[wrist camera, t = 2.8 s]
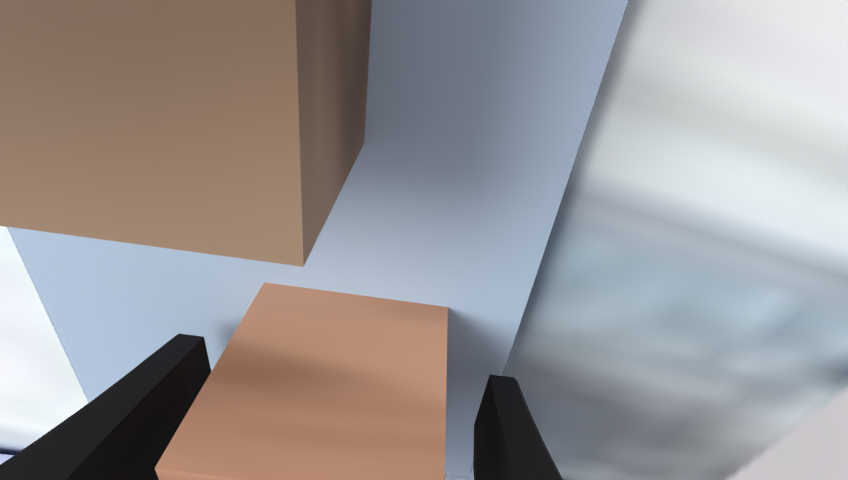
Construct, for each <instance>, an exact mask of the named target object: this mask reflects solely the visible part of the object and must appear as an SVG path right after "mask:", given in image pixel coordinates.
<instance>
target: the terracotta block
mask: <svg viewBox="0 0 848 480" xmlns="http://www.w3.org/2000/svg"><path fill="white" fill-rule="evenodd" d="M447 325H448V307H444V306H437V305H429V304H422V303H414V302H407V301H400V300H392V299H385V298H377V297H370V296H362V295H355V294H348V293H340V292H333V291H325V290H318V289H311V288H303V287H296V286H288V285H281V284H273V283H266V282H264V283H263V285H262V287H261V288H260V290H259V292H258V293H257V295H256V297H255V298H254V300H253V302H252V304H251V305H250V307H249V309H248V310H247V312H246V314H245V315H244V317H243V319H242V321H241V322H240V324H239V326H238V327H237V329H236V331H235V332H234V334H233V336H232V337H231V339H230V341H229V343H228V344H227V346H226V348H225V349H224V351H223V353H222V354H221V356H220V358H219V360H218V361H217V363H216V365H215V366H214V368H213V370H212V371H211V373H210V375H209V377H208V378H207V380H206V382H205V383H204V385H203V387H202V388H201V390H200V392H199V394H198V395H197V397H196V399H195V400H194V402H193V404H192V405H191V407H190V409H189V411H188V412H187V414H186V416H185V417H184V419H183V421H182V422H181V424H180V426H179V428H178V429H177V431H176V433H175V434H174V436H173V438H172V439H171V441H170V443H169V445H168V446H167V448H166V450H165V451H164V453H163V455H162V456H161V458H160V460H159V462H158V463H157V465H156V467H155V471H156V473H157V476H158V478H159V480H445V433H446V379H447Z"/></svg>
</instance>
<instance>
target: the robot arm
mask: <svg viewBox="0 0 848 480" xmlns="http://www.w3.org/2000/svg"><path fill="white" fill-rule="evenodd" d="M210 373H211V368H210V363H209V358H208V354H207V349H206V344H205V339H204V337H202V336H195V335H187V334H180V333H179V334H177V335H176V336H175V337H173V338H172V339H171V340H169V341H168V342H167V343H166V344H164V345H163V346H162V347H160V348H159V349H158V350H157V351H155V352H154V353H153V354H152V355H150V356H149V357H148V358H147V359H145V360H144V361H143V362H141V363H140V364H139V365H138V366H136V367H135V368H134V369H133V370H131V371H130V372H129V373H127V374H126V375H125V376H124V377H122V378H121V379H120V380H118V381H117V382H116V383H115V384H113V385H112V386H111V387H109V388H108V389H107V390H105V391H104V392H103V393H101V394H100V395H99V396H97V397H96V398H95V399H93V400H92V401H91V402H89V403H88V404H87V405H85V406H84V407H83V408H81V409H80V410H79V411H77V412H76V413H75V414H73V415H72V416H70V417H69V418H67V419H66V420H65V421H63V422H62V423H60V424H59V425H58V426H56V427H55V428H53V429H52V430H51V431H49V432H48V433H46V434H45V435H43V436H42V437H41V438H39V439H38V440H36V441H35V442H33V443H32V444H30V445H29V446H28V447H26V448H25V449H23V450H22V451H20V452H19V453H17V454H16V455H7V454H0V480H159V478H158V476H157V473H156V471H155V467H156V465H157V463H158V462H159V460H160V458H161V456H162V455H163V453H164V451H165V450H166V448H167V446H168V445H169V443H170V441H171V439H172V438H173V436H174V434H175V433H176V431H177V429H178V428H179V426H180V424H181V422H182V421H183V419H184V417H185V416H186V414H187V412H188V411H189V409H190V407H191V405H192V404H193V402H194V400H195V399H196V397H197V395H198V394H199V392H200V390H201V388H202V387H203V385H204V383H205V382H206V380H207V378H208V377H209V375H210ZM473 468H474V480H563V479H562V477H561V475H560V473H559V471H558V469H557V467H556V466H555V464H554V462H553V460H552V458H551V456H550V454H549V452H548V450H547V448H546V446H545V444H544V442H543V440H542V437H541V435H540V433H539V431H538V429H537V427H536V424H535V422H534V420H533V418H532V416H531V413H530V411H529V409H528V406H527V404H526V402H525V399H524V397H523V394H522V392H521V389H520V387H519V384H518V382H517V380H516V379H515V378H513V377H505V376H498V375H489V378H488V381H487V385H486V388H485V391H484V394H483V397H482V401H481V404H480V407H479V410H478V414H477V417H476V420H475V423H474V462H473Z"/></svg>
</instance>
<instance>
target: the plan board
mask: <svg viewBox="0 0 848 480" xmlns="http://www.w3.org/2000/svg"><path fill="white" fill-rule="evenodd" d="M628 1H629V0H372V9H371V27H370V46H369V65H368V84H367V103H366V121H365V140H364V144H363V146H362V149H361V151H360V153H359V155H358V157H357V159H356V161H355V163H354V165H353V167H352V169H351V171H350V173H349V175H348V177H347V179H346V181H345V183H344V185H343V187H342V189H341V191H340V193H339V195H338V198H337V200H336V202H335V204H334V206H333V208H332V210H331V212H330V214H329V216H328V218H327V220H326V222H325V224H324V226H323V228H322V230H321V232H320V234H319V236H318V238H317V240H316V242H315V245H314V247H313V249H312V251H311V253H310V255H309V257H308V259H307V261H306V263H305V265H304V267H301V266H293V265H286V264H279V263H271V262H264V261H257V260H249V259H242V258H235V257H227V256H220V255H212V254H205V253H198V252H190V251H183V250H176V249H168V248H161V247H153V246H146V245H139V244H131V243H124V242H117V241H109V240H102V239H94V238H87V237H80V236H72V235H65V234H58V233H50V232H43V231H36V230H28V229H21V228H13V227H7V228H8V230H9V233H10V235H11V237H12V239H13V241H14V243H15V245H16V248H17V250H18V252H19V254H20V256H21V258H22V261H23V263H24V265H25V267H26V269H27V271H28V273H29V276H30V278H31V280H32V282H33V284H34V286H35V288H36V291H37V293H38V295H39V297H40V299H41V301H42V303H43V306H44V308H45V310H46V312H47V314H48V316H49V319H50V321H51V323H52V325H53V327H54V329H55V331H56V334H57V336H58V338H59V340H60V342H61V344H62V346H63V349H64V351H65V353H66V355H67V357H68V359H69V362H70V364H71V366H72V368H73V370H74V372H75V374H76V377H77V379H78V381H79V383H80V385H81V387H82V389H83V392H84V394H85V396H86V398H87V400H88V402H91V401H92V400H93V399H95V398H96V397H97V396H99V395H100V394H101V393H103V392H104V391H105V390H107V389H108V388H109V387H111V386H112V385H113V384H115V383H116V382H117V381H118V380H120V379H121V378H122V377H124V376H125V375H126V374H127V373H129V372H130V371H131V370H133V369H134V368H135V367H136V366H138V365H139V364H140V363H141V362H143V361H144V360H145V359H147V358H148V357H149V356H150V355H152V354H153V353H154V352H155V351H157V350H158V349H159V348H160V347H162V346H163V345H164V344H166V343H167V342H168V341H169V340H171V339H172V338H173V337H175V336H176V335H177V334H179V333H180V334H187V335H195V336H202V337H204V339H205V344H206V349H207V354H208V358H209V363H210V368H211V371H212V370H213V368H214V366H215V365H216V363H217V361H218V360H219V358H220V356H221V354H222V353H223V351H224V349H225V348H226V346H227V344H228V343H229V341H230V339H231V337H232V336H233V334H234V332H235V331H236V329H237V327H238V326H239V324H240V322H241V321H242V319H243V317H244V315H245V314H246V312H247V310H248V309H249V307H250V305H251V304H252V302H253V300H254V298H255V297H256V295H257V293H258V292H259V290H260V288H261V287H262V285H263V283H264V282H266V283H273V284H281V285H288V286H296V287H303V288H311V289H318V290H325V291H333V292H340V293H348V294H355V295H362V296H370V297H377V298H385V299H392V300H400V301H407V302H414V303H422V304H429V305H437V306H444V307H448V325H447V379H446V433H445V475H450V476H458V477H466V478H468V477H469V474H470V471H471V468H472V465H473V462H474V423H475V420H476V417H477V414H478V410H479V407H480V404H481V401H482V397H483V394H484V391H485V388H486V385H487V381H488V378H489V375H498V376H503V373H504V370H505V367H506V364H507V361H508V358H509V355H510V352H511V349H512V346H513V343H514V340H515V337H516V334H517V331H518V328H519V325H520V322H521V319H522V316H523V313H524V310H525V307H526V304H527V301H528V298H529V295H530V292H531V289H532V286H533V283H534V280H535V277H536V274H537V271H538V268H539V265H540V262H541V260H542V257H543V254H544V251H545V248H546V245H547V242H548V239H549V236H550V233H551V230H552V227H553V224H554V221H555V218H556V215H557V212H558V209H559V206H560V203H561V200H562V197H563V194H564V191H565V188H566V185H567V182H568V179H569V176H570V173H571V170H572V167H573V164H574V161H575V158H576V155H577V152H578V149H579V146H580V143H581V140H582V137H583V134H584V131H585V129H586V126H587V123H588V120H589V117H590V114H591V111H592V108H593V105H594V102H595V99H596V96H597V93H598V90H599V87H600V84H601V81H602V78H603V75H604V72H605V69H606V66H607V63H608V60H609V57H610V54H611V51H612V48H613V45H614V42H615V39H616V36H617V33H618V30H619V27H620V24H621V21H622V18H623V15H624V12H625V9H626V6H627V3H628Z"/></svg>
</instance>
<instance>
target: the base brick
mask: <svg viewBox="0 0 848 480" xmlns="http://www.w3.org/2000/svg"><path fill="white" fill-rule="evenodd" d="M371 9H372V0H0V226H6V227H13V228H21V229H28V230H36V231H43V232H50V233H58V234H65V235H72V236H80V237H87V238H94V239H102V240H109V241H117V242H124V243H131V244H139V245H146V246H153V247H161V248H168V249H176V250H183V251H190V252H198V253H205V254H212V255H220V256H227V257H235V258H242V259H249V260H257V261H264V262H271V263H279V264H286V265H293V266H301V267H304V265H305V263H306V261H307V259H308V257H309V255H310V253H311V251H312V249H313V247H314V245H315V242H316V240H317V238H318V236H319V234H320V232H321V230H322V228H323V226H324V224H325V222H326V220H327V218H328V216H329V214H330V212H331V210H332V208H333V206H334V204H335V202H336V200H337V198H338V195H339V193H340V191H341V189H342V187H343V185H344V183H345V181H346V179H347V177H348V175H349V173H350V171H351V169H352V167H353V165H354V163H355V161H356V159H357V157H358V155H359V153H360V151H361V149H362V146H363V144H364V140H365V121H366V103H367V84H368V65H369V46H370V27H371Z"/></svg>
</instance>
